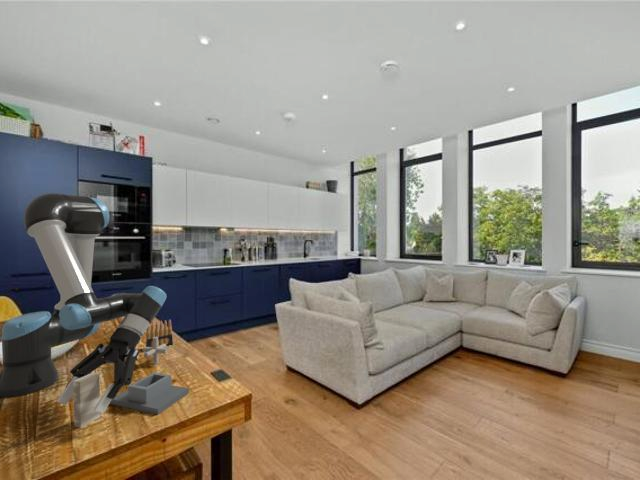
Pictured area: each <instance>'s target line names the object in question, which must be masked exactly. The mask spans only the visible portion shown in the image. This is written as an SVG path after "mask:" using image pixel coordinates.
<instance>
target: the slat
mask: <svg viewBox="0 0 640 480" xmlns="http://www.w3.org/2000/svg"><path fill="white" fill-rule="evenodd" d="M100 384H101V383H100V373H97V372H91V373H89V374H88V375H86V376H84V377H81V378H79V379H77V380H74V381H73V392H74V394H73V426H74V427H75V428H78V427H79V428H80V429H82V428H85V426H88V425H89V424H91V423H92V422H94V421H96V420H98V419H99V418H101V413H100V412H97V411H95V410H94V408H95V406H96V405H97V403H98V402H99V400H100V399H101V395H100V393H101V390H100Z"/></svg>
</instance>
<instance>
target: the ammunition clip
mask: <svg viewBox="0 0 640 480" xmlns="http://www.w3.org/2000/svg"><path fill="white" fill-rule="evenodd" d="M172 327H173V326H172V320H171V319H169V320H168V323H167V320H166V319H165V320H164V323H163V321H162V320H160V322H159V323H158V321H156V322H155V324H154V321H152V322H151V324H150V325H149V327H148V328H147V330H146V331H145V347H153V337H158V346H160V345H162V344H166V346H168V347H170V346H169V345H172V346H174V341H173V340H174V339H173V328H172Z"/></svg>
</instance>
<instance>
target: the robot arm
mask: <svg viewBox="0 0 640 480" xmlns="http://www.w3.org/2000/svg"><path fill="white" fill-rule="evenodd" d="M23 213H24V214H23V224H24V229H25V230H26V234H27V235H28V236H30V237H31V238H34V239H35V242H36V244H37V246H38V249H39V250H40V253H41V255H42V257H43V259H44V262H45V263H46V266H47V269H48V270H49V273H50V275H51V277H52V280H53V281H54V284H55V287H56V289H57V290H58V292H59V295H60V300H59V301H58V303H56V304H55V305H54V308H53V313H51V312H50V311H46V310H40V311H35V312H28V313H24V314H21V315H17V316H15V317H13V318H10V319H8V320H6V321H5V323H3V325H2V329H1V336H0V338H1V351H2V353H1V355H2V356H1V357H2V369H1V372H0V396H2V397H1V398H12V397H19V396H25V395H27V394H32V393H35V392H37V391H40V390H41V391H42V390H43V389H45V388H48V387H51V386H52V385H53V384H55V383H57V382H58V380H59V370H58V369H57V366H56V364H55V362H54V360H53V358H52V349H53V348H55V347H58V346H63V345H65V344H69V343H73V342H77V341H81V340H84V339H85V338H88V337H90V336H92V335H94V334H95V333H96V332H97V331H98V329H99V328H100V325H101V323H105V322H110V321H113V320H117V319H120V318H123V319H122V320H121V322H120V323H119V324H118V327H117V328H116V329H115V330H114V331H113V333H112V334H111V336H110V337H109V340H110V341H109V344H108V345H107V344H106V345H105V344H103V343H99V344H98V345H97V346H96V347H95V349H94V350H93V351H91V352H90V353H89V354H88V355H87V356H86V357H84V358H83V359H82V360H81V361H80V362H79V363H77V364H76V365H75V366H74V367H73V368H72V369H71V370H70V371H69V372H70V374H72V378H70V380H69V382H68V383H67V384H66V385H65V388H64V390H63V391H62V392H61V393H60V395H59V397H58V398H57V399H56V403H59V404H61V405H64V406H67V405H68V403H69V402H70V400H71V398H73V397H74V392H73V381H74V380H77V379H79V378H81V377H84V376H86V375H88V374H91V373H93V372H94V371H95V370H96V369H98V368H100V367H101V366H103V365H106V364H113V365H114V367H113V368H114V369H113V370H114V371H113V373H114V374H113V380H112V381H111V382H110V383H109V385H108V386H107V388H106V390H105V391H104V393H103V394H102V396H100V400H99V402H98V403H97V405H96V406H95V408H94V410H95V411H97V412H100V414H104V413H105V411H106V409H107V408H108V406H109V405H110V402H111V400H112V399H114V398H115V396H116V395H118V394H119V391H120V390H121V389H122V387H124V386H129V385H131V384H132V379H133V375H134V370H135V366H136V365H135V364H136V361H137V357H138V356H139V354H140V351H139V350H137V349H136V347H137V345H138V344H139V343H140V342H141V340H142V337H143V336H144V334H146V330H147V328H148V327H149V326H151V324H152V322H154V319H155V318H156V316H157V315H158V313H159V311H160V310H161V308H162V307H163V305H164V303H165V301H166V299H167V293H166V291H164V290H163V289H161V288H159V287H158V286H155V285H148V286H146V287H145V288H144V289H143V290H142V292H141V293H139V292H138V293H131V292H130V293H128V292H121V293H114V294H112V295H110V296H107V297H106V296H105V297H101V298H97V296H96V295H95V292H94V290H93V288H92V278H93V267H94V266H93V265H94V264H93V263H94V253H95V251H94V250H95V240H96V238H98V237H99V236H100V235H101V230H102V229H104V228H106V227H108V224H109V222H110V211H109V209H108V207H107V206H106V204H105V202H104V201H102V199H100V198H96V197H91V196H84V195H83V196H82V195H72V194H63V193H62V194H61V193H55V192H53V193H52V192H51V193H46V194H45V193H44V194H41V195H38V196H37V197H35V198H33V200H31V201H30V202H29V204H28V205H27V206H26V208H25V211H24V212H23ZM139 341H140V342H139Z"/></svg>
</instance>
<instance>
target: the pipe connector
mask: <svg viewBox="0 0 640 480" xmlns="http://www.w3.org/2000/svg"><path fill="white" fill-rule="evenodd" d="M142 352H144V354H143V357H144V358H145V359H147V358H149V357H150V356H152V364H153V365H155V364H156V365H157V364H159V354H167V353H169V348H167V347H166V344H162V345H160V346H158V337H153V347H146V346H143V348H142Z"/></svg>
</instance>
